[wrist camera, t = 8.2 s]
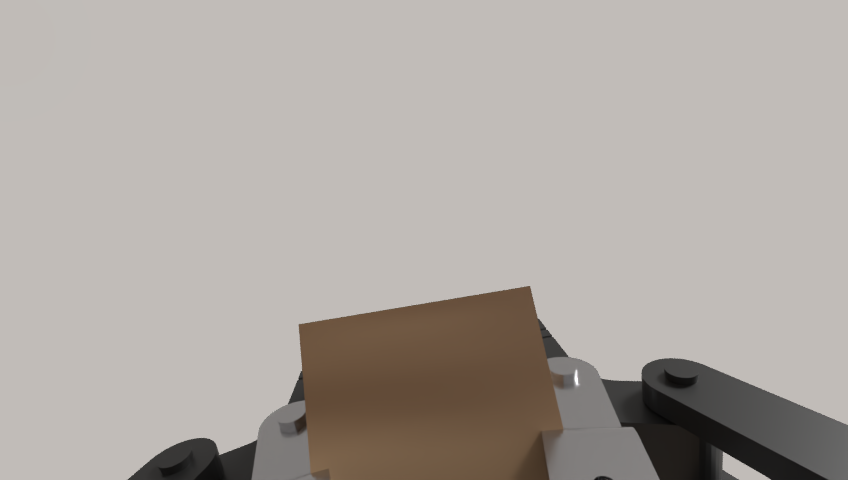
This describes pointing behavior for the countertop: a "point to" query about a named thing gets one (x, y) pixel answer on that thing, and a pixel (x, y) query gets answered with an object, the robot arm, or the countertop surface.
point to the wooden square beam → (430, 391)
